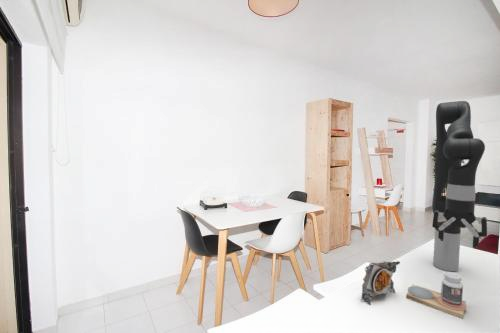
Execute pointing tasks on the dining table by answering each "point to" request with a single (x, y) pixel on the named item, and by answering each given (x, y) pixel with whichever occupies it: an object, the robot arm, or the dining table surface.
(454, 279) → the pill bottle
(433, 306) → the board
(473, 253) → the dining table surface
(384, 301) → the dining table surface
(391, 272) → the meal
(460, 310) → the terracotta pad
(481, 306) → the dining table surface
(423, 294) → the grey pad
